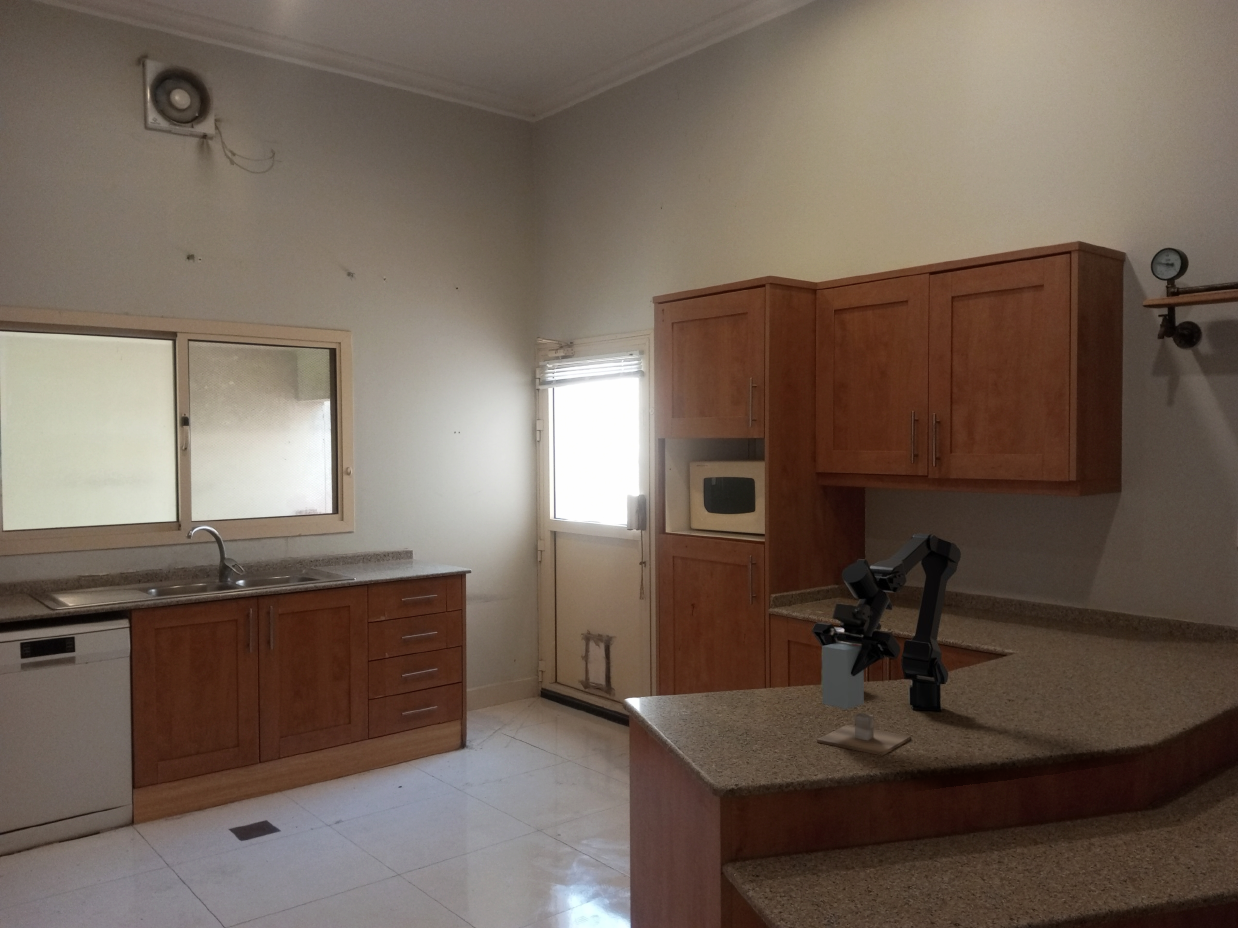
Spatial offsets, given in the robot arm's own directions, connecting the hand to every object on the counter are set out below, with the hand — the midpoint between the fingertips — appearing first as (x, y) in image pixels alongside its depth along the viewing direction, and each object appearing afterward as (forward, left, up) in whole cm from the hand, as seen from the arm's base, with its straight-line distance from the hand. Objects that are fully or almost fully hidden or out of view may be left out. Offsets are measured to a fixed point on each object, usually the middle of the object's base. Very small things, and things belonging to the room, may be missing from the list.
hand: (839, 672), depth 191 cm
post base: (-5, +1, -13) cm, 14 cm away
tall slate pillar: (-1, -1, -7) cm, 7 cm away
